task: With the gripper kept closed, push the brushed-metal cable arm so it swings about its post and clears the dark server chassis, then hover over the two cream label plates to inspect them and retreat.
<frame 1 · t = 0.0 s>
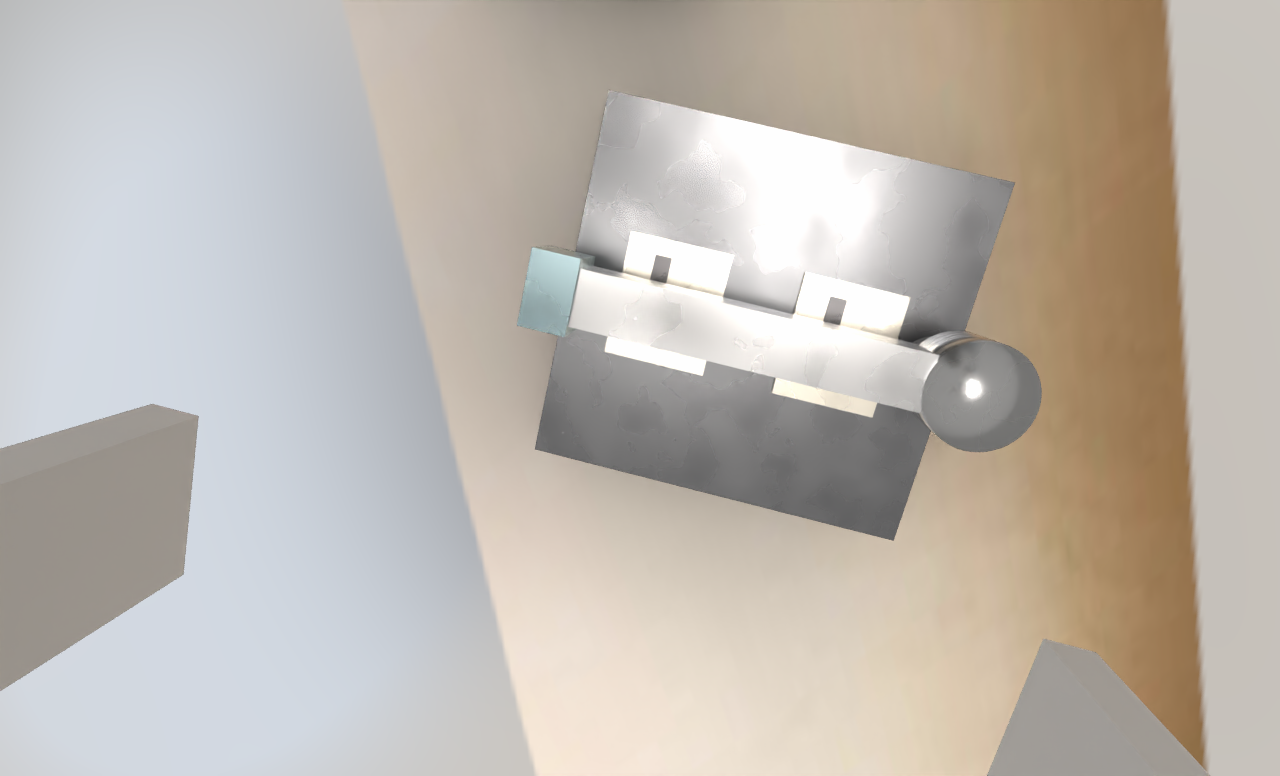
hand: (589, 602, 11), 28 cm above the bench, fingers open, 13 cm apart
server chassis: (754, 318, 37), on the bench
cable arm: (773, 341, 30), point 8 cm above the bench, hinge at 0.0°
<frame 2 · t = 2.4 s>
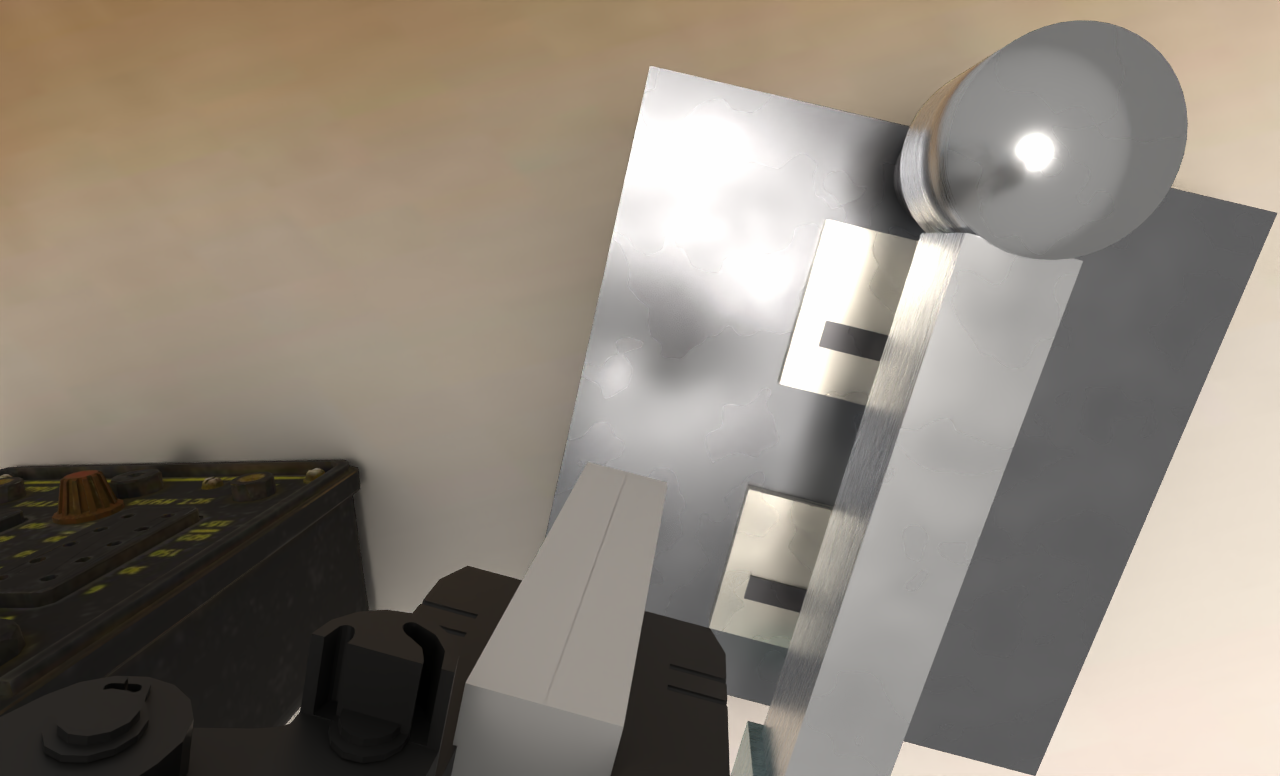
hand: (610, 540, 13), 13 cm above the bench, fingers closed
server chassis: (840, 425, 25), on the bench
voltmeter: (199, 539, 28), on the bench
cable arm: (907, 497, 17), point 8 cm above the bench, hinge at 0.0°
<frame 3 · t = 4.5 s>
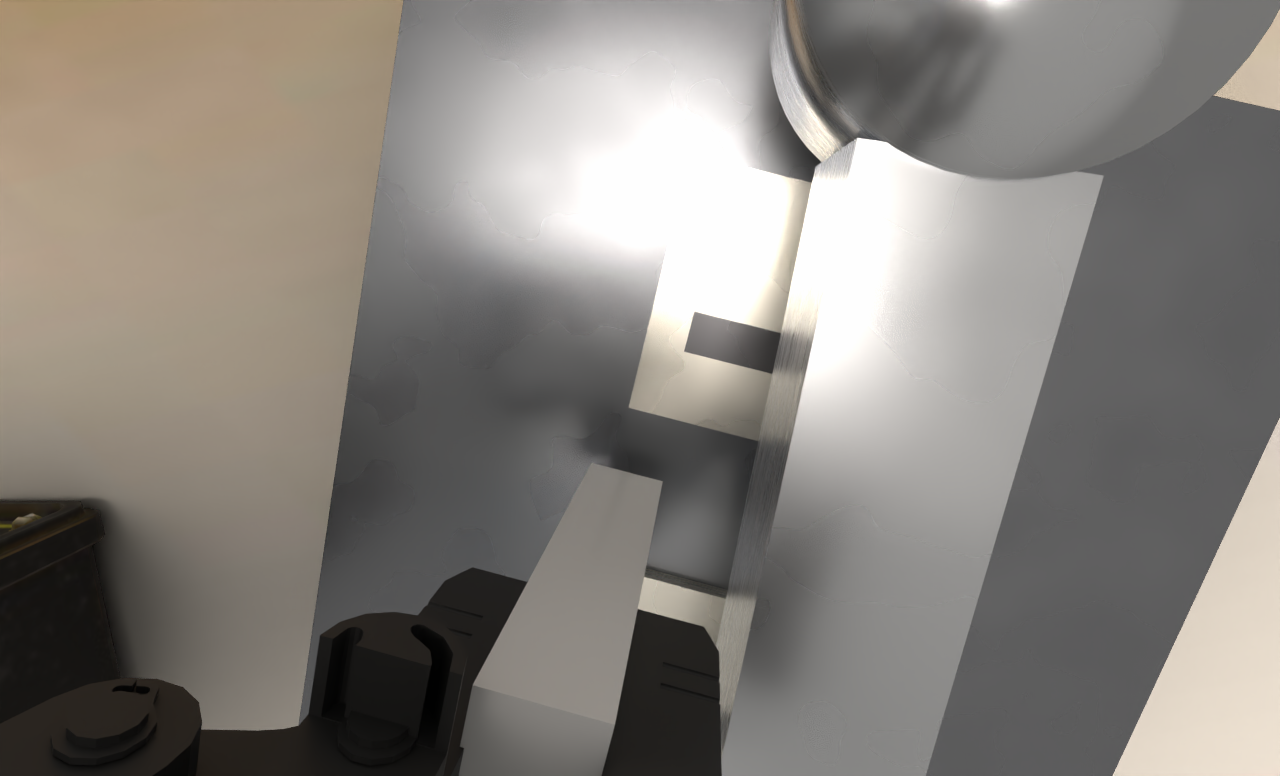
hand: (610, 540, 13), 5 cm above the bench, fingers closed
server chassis: (746, 461, 18), on the bench
cable arm: (821, 626, 10), point 8 cm above the bench, hinge at 4.3°, touching gripper
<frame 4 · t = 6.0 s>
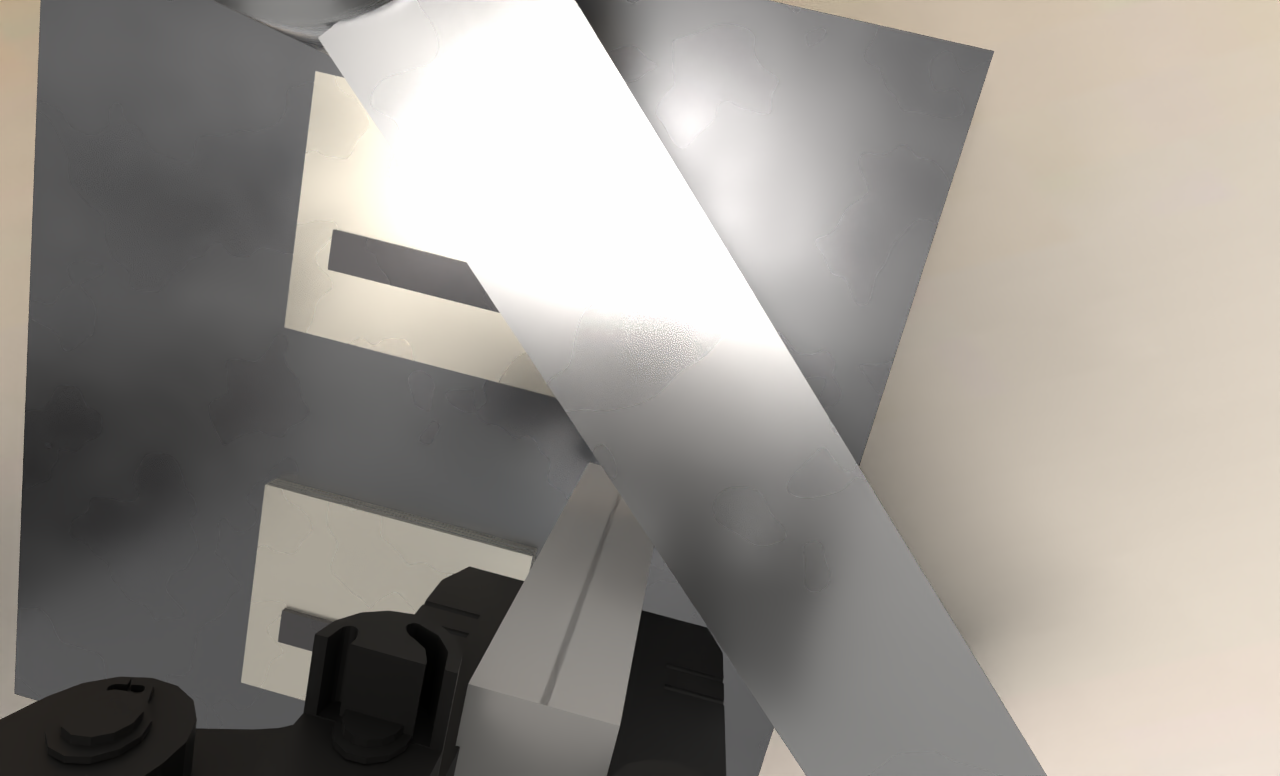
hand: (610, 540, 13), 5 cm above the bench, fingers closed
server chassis: (468, 396, 18), on the bench
cable arm: (729, 435, 9), point 8 cm above the bench, hinge at 46.1°, touching gripper
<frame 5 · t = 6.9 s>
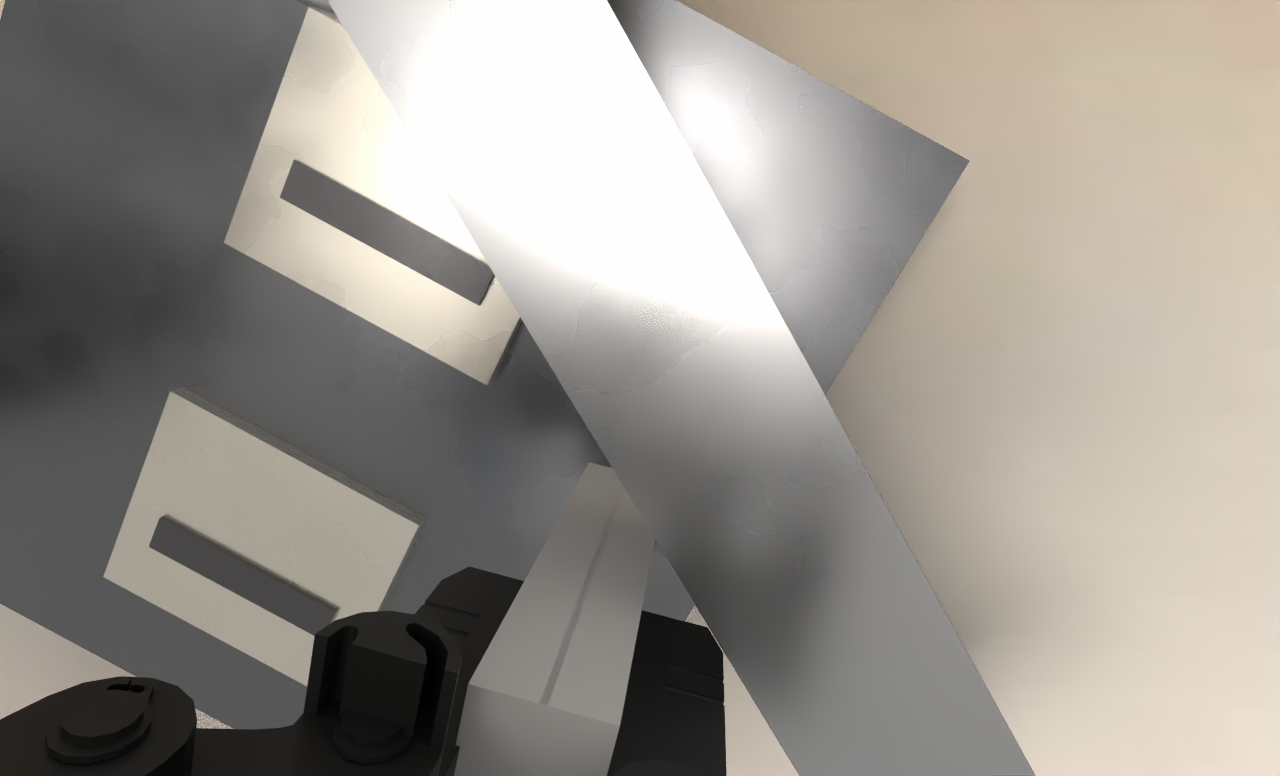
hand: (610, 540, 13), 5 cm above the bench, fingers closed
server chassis: (400, 351, 18), on the bench
cable arm: (729, 424, 9), point 8 cm above the bench, hinge at 58.5°, touching gripper
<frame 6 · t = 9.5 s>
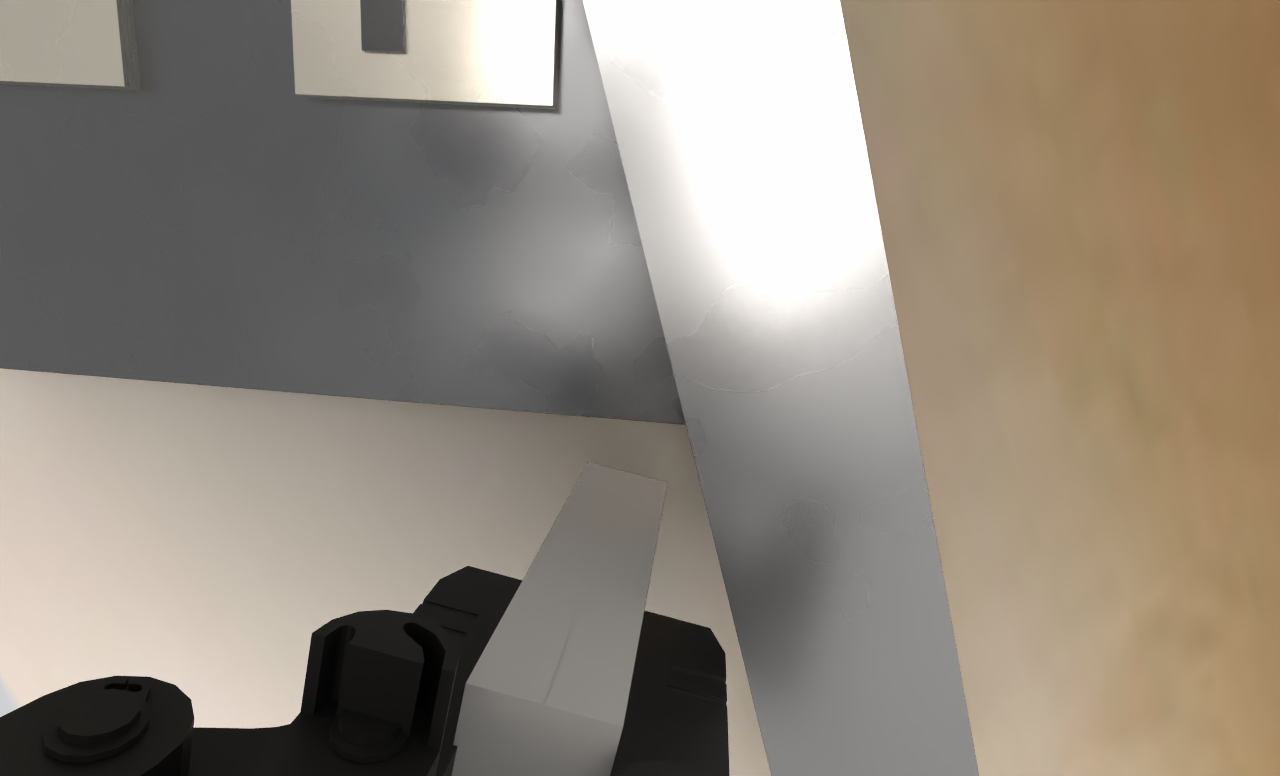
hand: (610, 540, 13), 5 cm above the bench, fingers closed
cable arm: (796, 445, 9), point 8 cm above the bench, hinge at 107.4°
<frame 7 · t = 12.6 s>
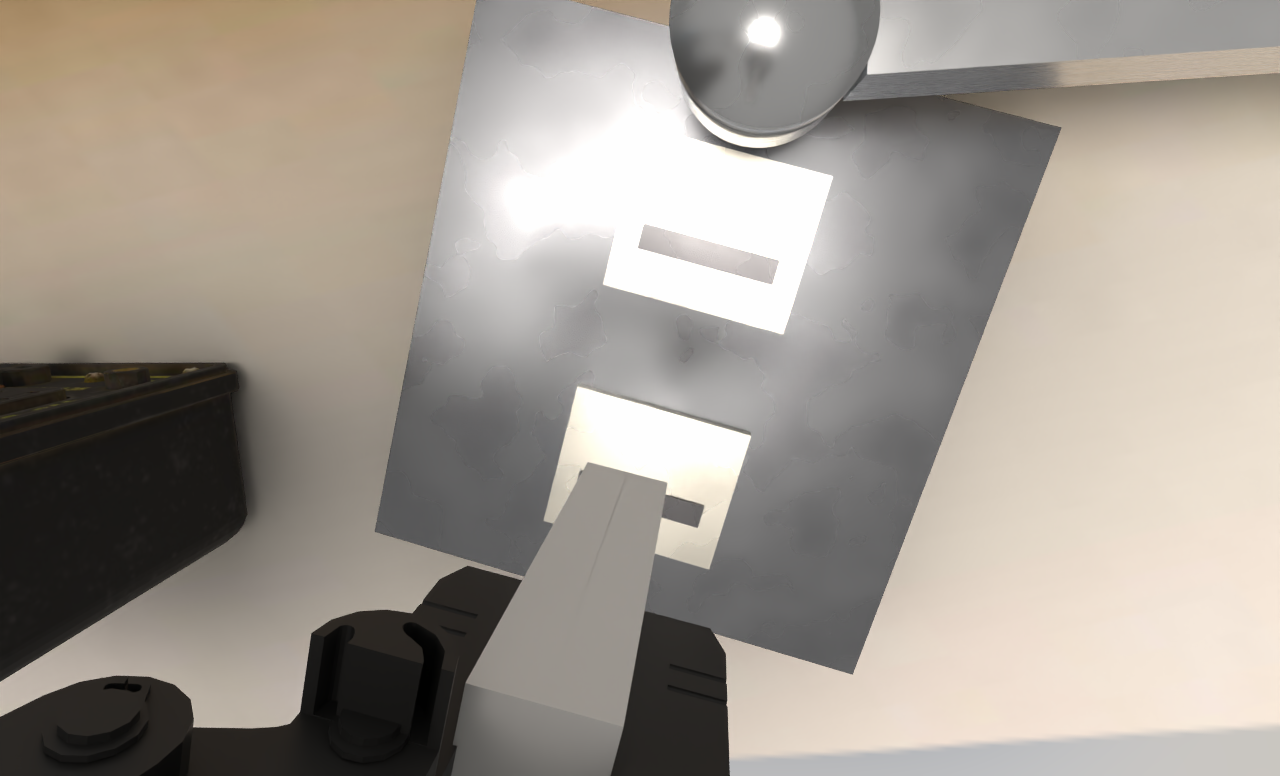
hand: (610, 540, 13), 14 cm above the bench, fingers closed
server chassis: (684, 339, 26), on the bench
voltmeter: (93, 439, 30), on the bench
cable arm: (1139, 12, 16), point 8 cm above the bench, hinge at 107.4°
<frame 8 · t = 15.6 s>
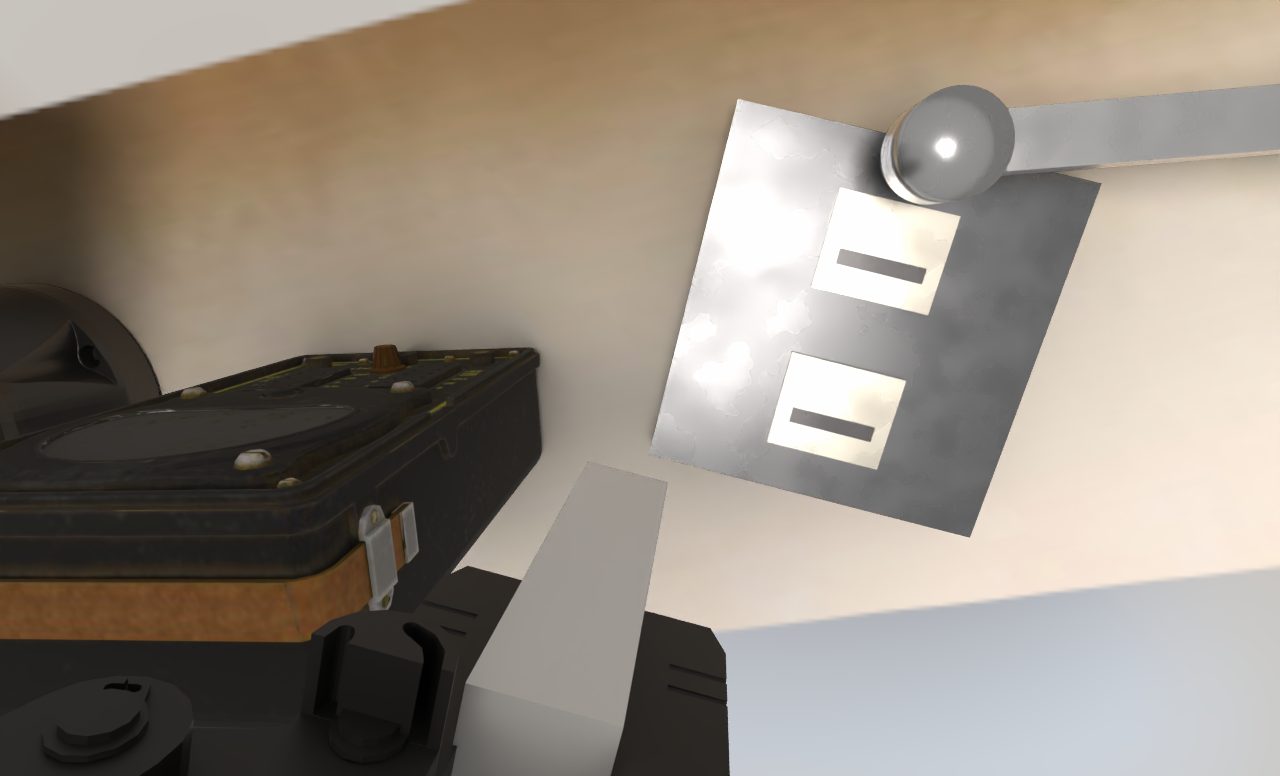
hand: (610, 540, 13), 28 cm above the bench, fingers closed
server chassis: (848, 321, 40), on the bench
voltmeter: (426, 404, 43), on the bench
cable arm: (1150, 131, 29), point 8 cm above the bench, hinge at 107.4°
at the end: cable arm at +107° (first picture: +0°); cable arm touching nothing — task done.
